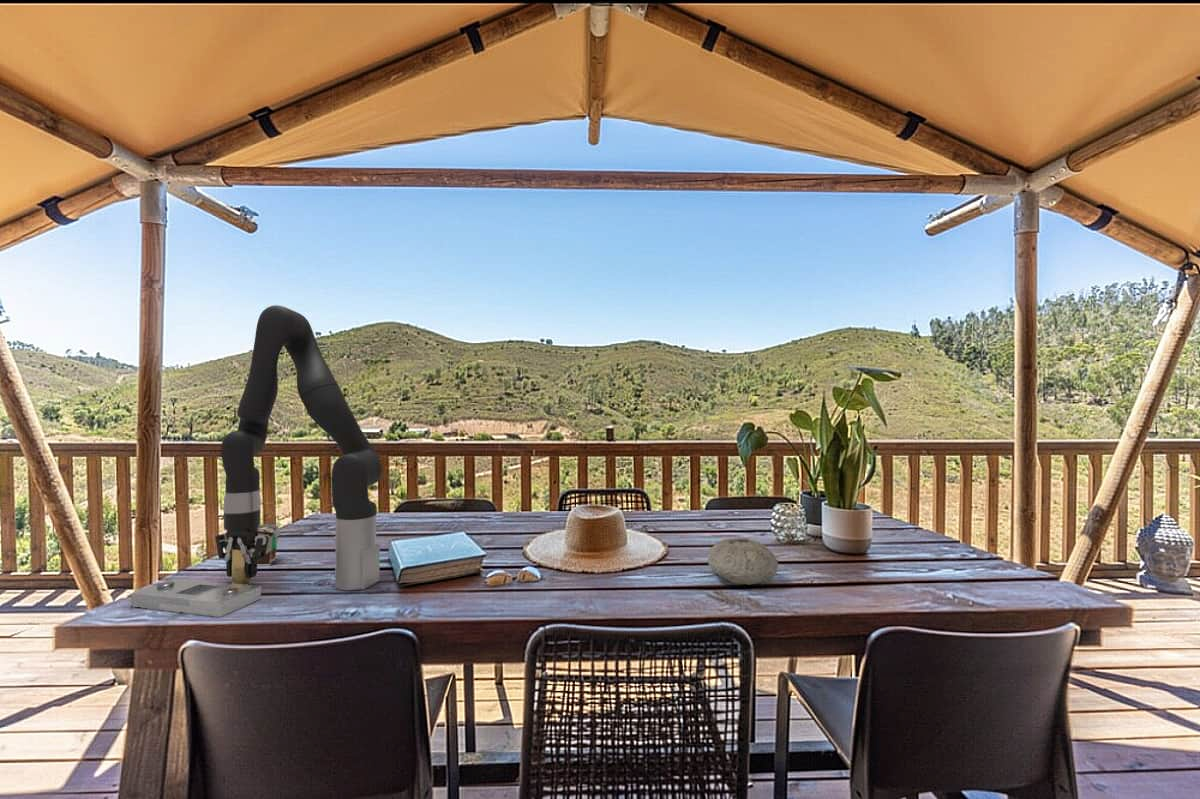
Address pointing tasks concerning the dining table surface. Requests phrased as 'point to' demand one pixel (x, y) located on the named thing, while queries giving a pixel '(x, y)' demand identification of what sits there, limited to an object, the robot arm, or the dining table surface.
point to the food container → (269, 542)
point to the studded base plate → (196, 597)
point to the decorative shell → (742, 561)
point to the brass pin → (239, 567)
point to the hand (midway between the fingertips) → (241, 576)
